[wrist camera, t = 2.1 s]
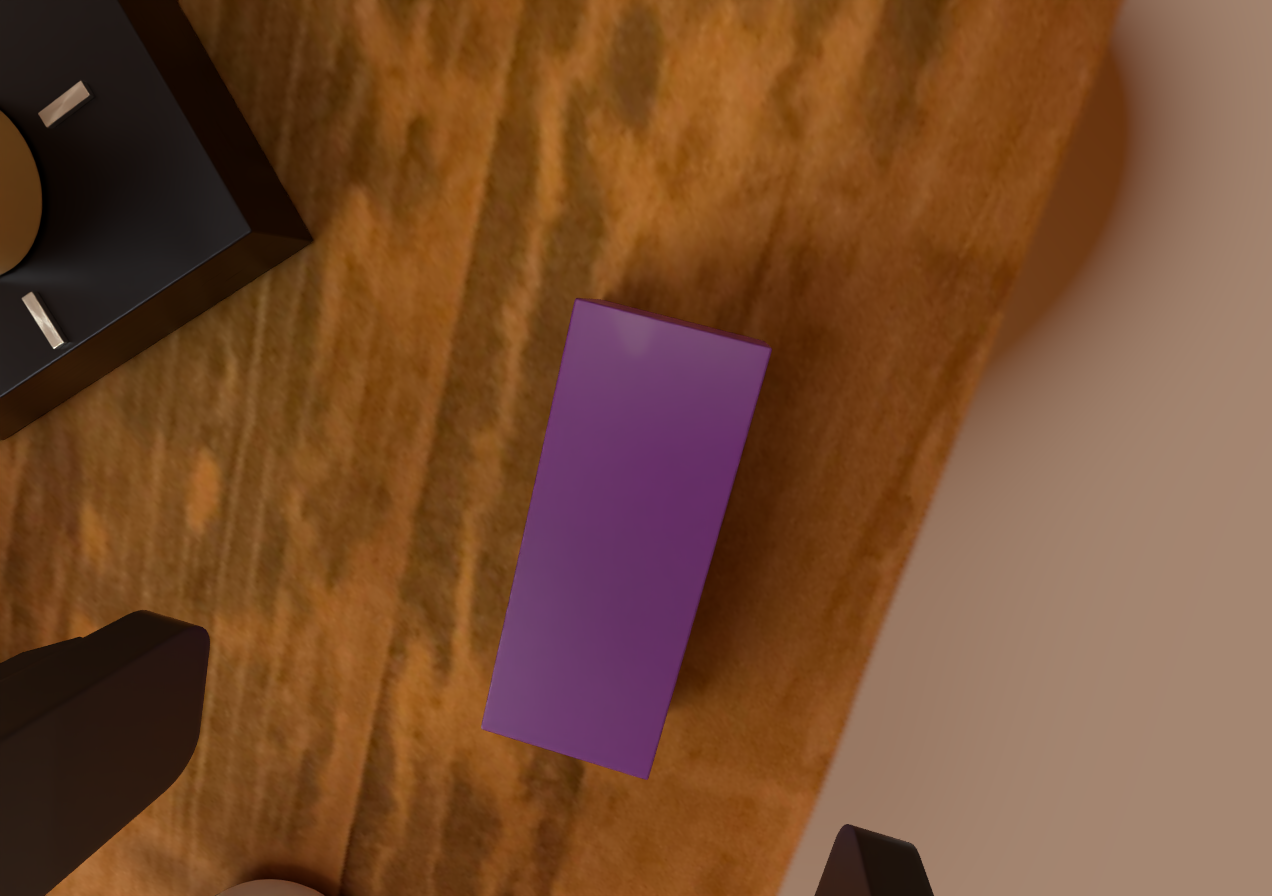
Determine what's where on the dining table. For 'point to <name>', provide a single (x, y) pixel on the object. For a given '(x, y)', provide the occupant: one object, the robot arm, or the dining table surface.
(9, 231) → the tap knob
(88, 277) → the plate
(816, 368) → the dining table surface
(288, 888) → the cup
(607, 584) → the purple rectangular block
